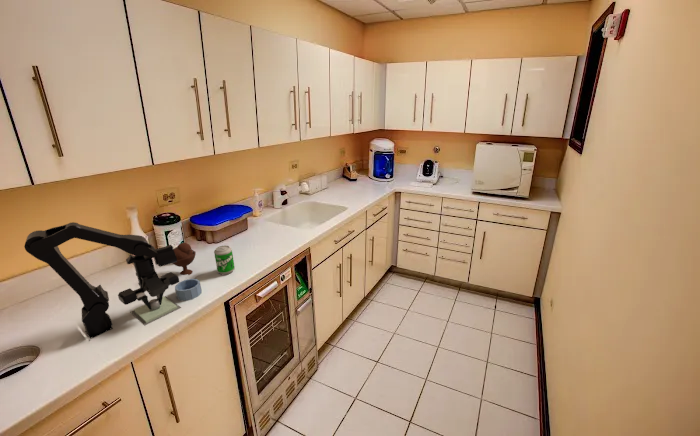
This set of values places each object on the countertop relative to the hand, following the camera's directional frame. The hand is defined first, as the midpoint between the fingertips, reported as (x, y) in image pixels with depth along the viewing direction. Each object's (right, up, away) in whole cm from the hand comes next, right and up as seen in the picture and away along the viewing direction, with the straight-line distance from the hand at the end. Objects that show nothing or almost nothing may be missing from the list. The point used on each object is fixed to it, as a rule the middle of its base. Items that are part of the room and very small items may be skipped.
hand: (155, 306), depth 121 cm
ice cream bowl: (-2, +8, +27) cm, 28 cm away
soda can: (+16, +8, +28) cm, 33 cm away
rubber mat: (0, -2, +1) cm, 2 cm away
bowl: (+8, +2, +10) cm, 13 cm away
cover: (0, -1, 0) cm, 1 cm away
